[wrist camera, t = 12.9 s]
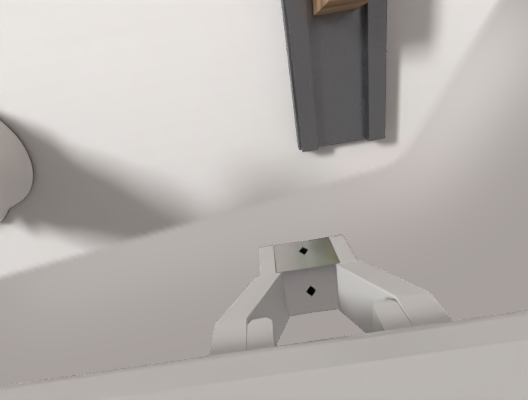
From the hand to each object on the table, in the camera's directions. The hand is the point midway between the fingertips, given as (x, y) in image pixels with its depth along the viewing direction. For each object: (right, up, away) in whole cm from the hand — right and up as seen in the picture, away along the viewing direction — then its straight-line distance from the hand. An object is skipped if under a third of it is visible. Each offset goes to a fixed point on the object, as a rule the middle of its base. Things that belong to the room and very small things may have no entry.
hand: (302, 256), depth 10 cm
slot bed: (+7, +20, +23) cm, 31 cm away
